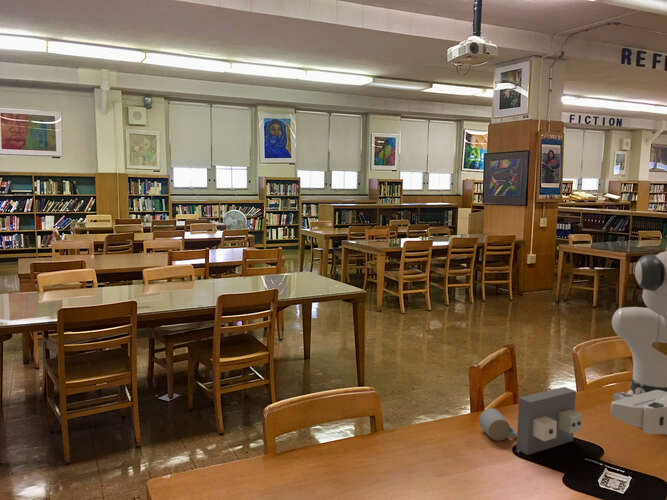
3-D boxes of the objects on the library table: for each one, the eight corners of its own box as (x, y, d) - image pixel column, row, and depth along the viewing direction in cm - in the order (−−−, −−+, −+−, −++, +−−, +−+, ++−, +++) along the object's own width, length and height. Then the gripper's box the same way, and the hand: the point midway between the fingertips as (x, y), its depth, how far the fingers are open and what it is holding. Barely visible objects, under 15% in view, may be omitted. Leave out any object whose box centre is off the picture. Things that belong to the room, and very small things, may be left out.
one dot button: (541, 430, 156) (542, 414, 155) (557, 438, 151) (558, 421, 151) (530, 434, 154) (531, 418, 153) (545, 441, 149) (546, 425, 148)
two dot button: (566, 423, 161) (567, 408, 160) (582, 430, 156) (583, 414, 156) (555, 427, 159) (556, 411, 158) (570, 434, 154) (571, 417, 153)
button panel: (561, 435, 165) (564, 386, 163) (572, 440, 162) (575, 391, 160) (516, 449, 156) (519, 397, 154) (527, 455, 152) (529, 402, 151)
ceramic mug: (488, 442, 160) (490, 418, 159) (477, 431, 168) (479, 408, 167) (521, 441, 161) (522, 418, 160) (509, 430, 169) (510, 407, 168)
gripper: (696, 395, 130) (641, 377, 142) (646, 409, 120) (592, 389, 132) (694, 419, 130) (639, 400, 142) (644, 435, 121) (591, 413, 133)
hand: (616, 395), depth 137 cm, fingers closed
